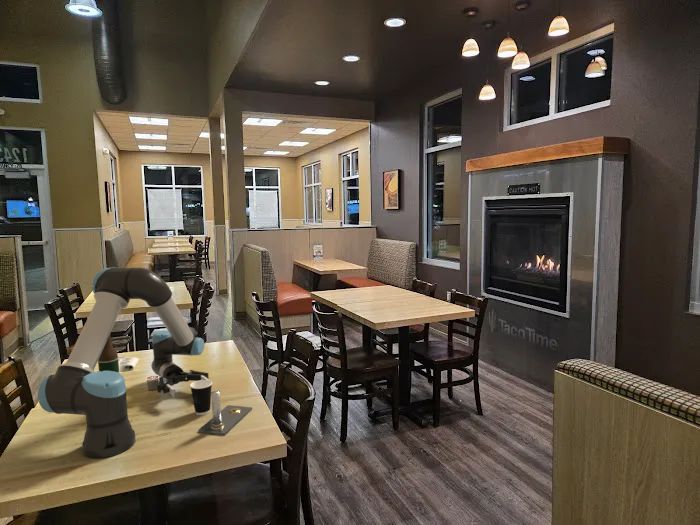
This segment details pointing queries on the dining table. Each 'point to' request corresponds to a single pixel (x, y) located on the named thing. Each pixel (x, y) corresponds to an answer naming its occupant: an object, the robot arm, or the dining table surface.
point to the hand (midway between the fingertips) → (191, 387)
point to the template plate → (226, 420)
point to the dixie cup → (201, 396)
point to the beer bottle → (108, 358)
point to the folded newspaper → (126, 363)
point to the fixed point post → (216, 410)
